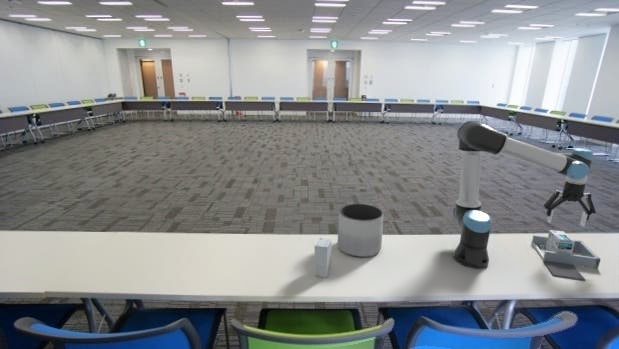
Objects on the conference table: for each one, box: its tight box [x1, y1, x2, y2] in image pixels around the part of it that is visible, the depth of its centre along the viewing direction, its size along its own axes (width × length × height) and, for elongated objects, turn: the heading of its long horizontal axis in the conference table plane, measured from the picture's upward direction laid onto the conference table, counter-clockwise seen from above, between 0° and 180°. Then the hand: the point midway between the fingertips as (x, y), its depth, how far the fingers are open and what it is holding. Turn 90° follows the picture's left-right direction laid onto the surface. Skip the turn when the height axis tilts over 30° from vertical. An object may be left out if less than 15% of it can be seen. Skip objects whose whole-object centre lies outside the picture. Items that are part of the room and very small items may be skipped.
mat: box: [542, 260, 586, 281], centre depth 149 cm, size 12×12×1 cm
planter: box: [337, 203, 384, 258], centre depth 165 cm, size 22×22×20 cm
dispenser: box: [531, 234, 601, 270], centre depth 162 cm, size 22×18×5 cm
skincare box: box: [314, 237, 332, 279], centre depth 144 cm, size 8×6×15 cm
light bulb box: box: [544, 229, 576, 254], centre depth 161 cm, size 11×7×11 cm, turn 168°
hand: (565, 224), depth 158 cm, fingers open, 13 cm apart
